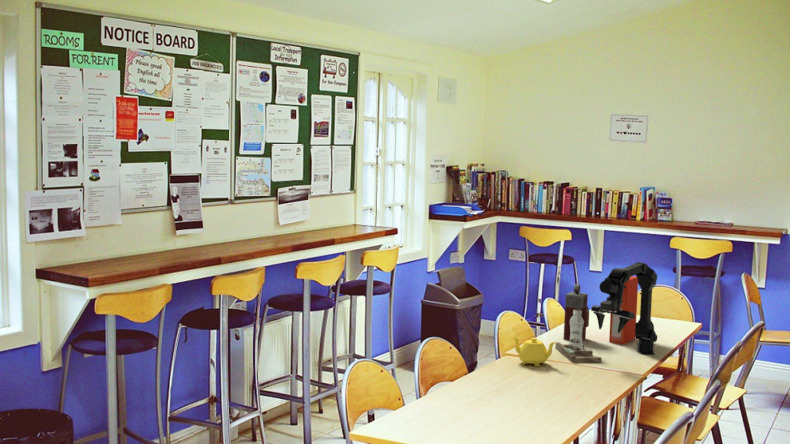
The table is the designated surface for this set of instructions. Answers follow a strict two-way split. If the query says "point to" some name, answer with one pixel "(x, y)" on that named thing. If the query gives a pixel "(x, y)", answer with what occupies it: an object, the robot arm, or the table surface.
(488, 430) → the table surface
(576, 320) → the plastic bottle
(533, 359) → the teapot
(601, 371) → the table surface
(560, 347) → the comb rack
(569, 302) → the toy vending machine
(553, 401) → the table surface
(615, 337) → the file binder
